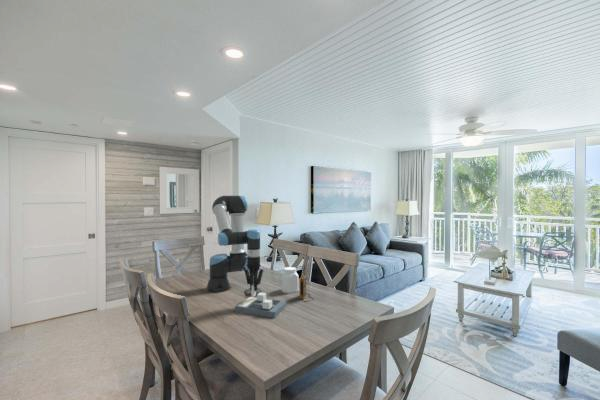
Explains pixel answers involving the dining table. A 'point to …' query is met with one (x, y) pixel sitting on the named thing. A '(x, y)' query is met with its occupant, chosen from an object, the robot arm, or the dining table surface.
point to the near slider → (267, 304)
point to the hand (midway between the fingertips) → (253, 296)
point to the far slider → (261, 296)
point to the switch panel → (260, 307)
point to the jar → (290, 280)
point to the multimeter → (303, 286)
